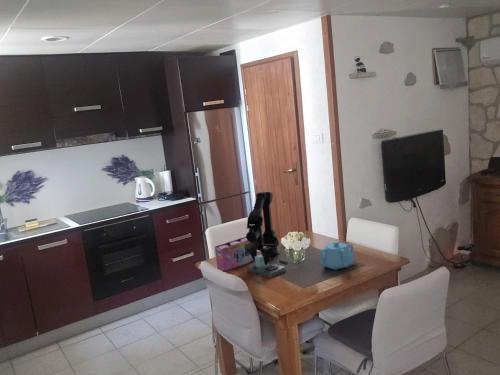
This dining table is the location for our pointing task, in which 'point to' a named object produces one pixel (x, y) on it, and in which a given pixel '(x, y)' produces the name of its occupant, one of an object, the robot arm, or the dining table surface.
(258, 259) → the plug
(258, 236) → the robot arm
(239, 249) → the gum box
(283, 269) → the panel
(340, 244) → the decorative pot
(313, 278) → the dining table surface
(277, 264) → the pair of grey bars
